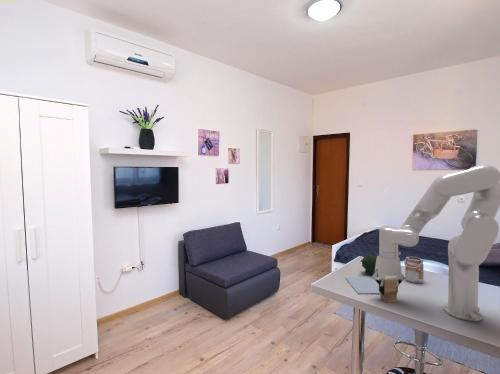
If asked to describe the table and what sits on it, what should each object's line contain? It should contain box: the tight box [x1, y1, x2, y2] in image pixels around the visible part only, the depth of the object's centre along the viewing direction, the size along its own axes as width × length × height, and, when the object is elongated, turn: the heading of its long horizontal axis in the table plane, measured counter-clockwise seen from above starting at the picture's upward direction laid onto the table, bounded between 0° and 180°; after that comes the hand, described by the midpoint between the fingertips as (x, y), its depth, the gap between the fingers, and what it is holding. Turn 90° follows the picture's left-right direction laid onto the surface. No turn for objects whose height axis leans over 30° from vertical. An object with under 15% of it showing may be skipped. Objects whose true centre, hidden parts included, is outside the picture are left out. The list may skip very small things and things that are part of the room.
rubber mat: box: [344, 276, 380, 295], centre depth 138 cm, size 20×13×1 cm, turn 178°
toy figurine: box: [360, 254, 377, 276], centre depth 155 cm, size 9×19×25 cm
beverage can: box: [403, 256, 424, 284], centre depth 142 cm, size 9×8×12 cm
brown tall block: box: [379, 275, 398, 303], centre depth 122 cm, size 5×5×12 cm
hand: (388, 293), depth 122 cm, fingers closed on brown tall block, 5 cm apart
